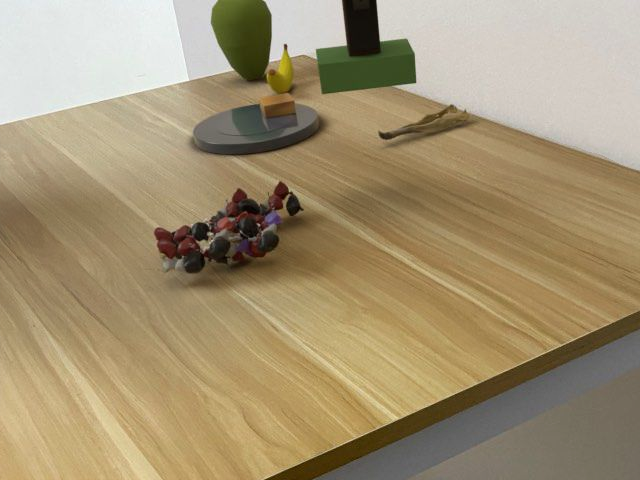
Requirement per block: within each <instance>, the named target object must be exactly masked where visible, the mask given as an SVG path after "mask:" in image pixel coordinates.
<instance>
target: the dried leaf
mask: <svg viewBox="0 0 640 480" xmlns="http://www.w3.org/2000/svg"><path fill="white" fill-rule="evenodd" d="M449 113H450V114H456V115H454V116H451V117H447V118H443V116H445V115H446V114H447V115H448V114H449ZM457 113H458V108H457V106H455V104H453V103H452V104H450V105H448V106H447V107H446V108H443V109H442V110H439V111H437V112H433V113H428V114H426V115H424V116H423V117H422V118H421V119H419V120H416V121H415V122H410V123H408V124H406V125H403V126H400V127H397V128H395V129H392V130H389V131H385V132H382V131H380V130H377V133H378V136H379V138H380V139H381V140H383V141H384V140H385V141H390V140H392V139H395V138H397V137H400V136H403V135H404V136H405V135H409V134H416V133H417V134H418V133H438V132H442V131H443V130H446V129H447V128H451V127H455V126H456V125H457V124H459V123H460V122H465V123H466V122H467V121H468V120H469V119H470V115H469V114H468V113H467V109H466V108H464V110H463V111H462V112H461V113H458V114H457ZM453 121H454V122H453Z"/></svg>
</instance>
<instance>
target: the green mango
mask: <svg viewBox="0 0 640 480" xmlns="http://www.w3.org/2000/svg"><path fill="white" fill-rule="evenodd" d="M270 10H271V9H270V8H269V6H268V5H267V2H266V1H265V0H217V1H216V2H215V4H214V5H213V6H212V7H211V15H210V25H211V27H212V31H213V33H214V36H215V39H216V42H217V44H218V47H219V48H220V50H221V51H222V53H223V55H224V57H225V59H226V60H227V62H228V64H229V66H230V67H231V69H233V71H234V72H236V74H237V75H239V77H241V78H242V79H243V80H247V81H249V80H250V81H251V80H256V79H262V78H264V75H265V73H266V71H267V68H268V67H269V63H270V56H271V48H272V40H273V39H272V37H273V22H272V21H273V18H272V17H273V16H272V12H271V11H270Z"/></svg>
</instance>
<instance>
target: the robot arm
mask: <svg viewBox="0 0 640 480" xmlns="http://www.w3.org/2000/svg"><path fill="white" fill-rule="evenodd" d="M345 9H346V18H347V28H348V37H349V46H350V52H356V51H365V50H373V49H379V37H378V26H377V14H376V3H375V0H345Z"/></svg>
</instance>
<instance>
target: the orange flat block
mask: <svg viewBox="0 0 640 480" xmlns="http://www.w3.org/2000/svg"><path fill="white" fill-rule="evenodd" d="M295 103H296V102H295V100H294V98H293V96H291V94H290V92H286V93H282V94H280V93H277V94H274V95H267V96H262V97H258V104H260V108H261V111H262V113H263V114H264V116H265V118H271V117H277V116H282V115H288V114H293V113H296V109H295Z"/></svg>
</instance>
